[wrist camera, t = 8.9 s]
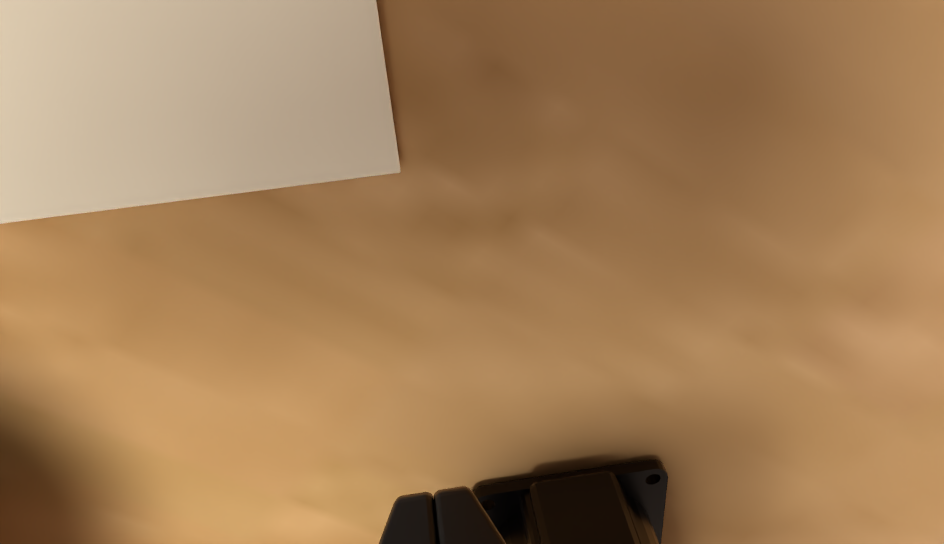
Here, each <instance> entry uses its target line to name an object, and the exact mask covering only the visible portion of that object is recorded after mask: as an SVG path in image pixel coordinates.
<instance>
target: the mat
mask: <svg viewBox="0 0 944 544" xmlns="http://www.w3.org/2000/svg"><path fill="white" fill-rule="evenodd" d="M394 173H401V170H400V162H399V155H398V148H397V141H396V134H395V127H394V120H393V113H392V106H391V99H390V92H389V85H388V78H387V72H386V65H385V58H384V51H383V44H382V37H381V30H380V23H379V16H378V9H377V2H376V0H0V224H2V223H9V222H17V221H25V220H33V219H41V218H49V217H56V216H64V215H72V214H80V213H88V212H96V211H104V210H111V209H119V208H127V207H135V206H143V205H151V204H158V203H166V202H174V201H182V200H190V199H198V198H205V197H213V196H221V195H229V194H237V193H245V192H252V191H260V190H268V189H276V188H284V187H292V186H299V185H307V184H315V183H323V182H331V181H339V180H346V179H354V178H362V177H370V176H378V175H386V174H394Z"/></svg>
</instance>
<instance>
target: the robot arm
mask: <svg viewBox="0 0 944 544" xmlns="http://www.w3.org/2000/svg"><path fill="white" fill-rule="evenodd" d="M667 480H668V475H667V472H666V470H665V467H664V465H663V463H662V462H661V461H658V460H645V461H639V462H632V463H626V464H619V465H613V466H606V467H600V468H593V469H587V470H580V471H574V472H567V473H561V474H554V475H548V476H541V477H535V478H528V479H522V480H515V481H509V482H502V483H496V484H489V485H484V486H480V487H478V488H477V489H475V490H474V491H473V492H472V491H471V490H470V489H469V488H468V487H465V486H462V487H455V488H449V489H442V490H438V491H437V492H436V493H435V494H434V499H433V496H432V494H431V493H428V492H423V493H416V494H410V495H403V496H400V497H398V498H397V499H396V501H395V502H394V504H393V507H392V510H391V512H390V515H389V518H388V520H387V523H386V526H385V528H384V531H383V534H382V536H381V539H380V542H379V544H661V537H662V527H663V518H664V509H665V499H666V490H667Z"/></svg>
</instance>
